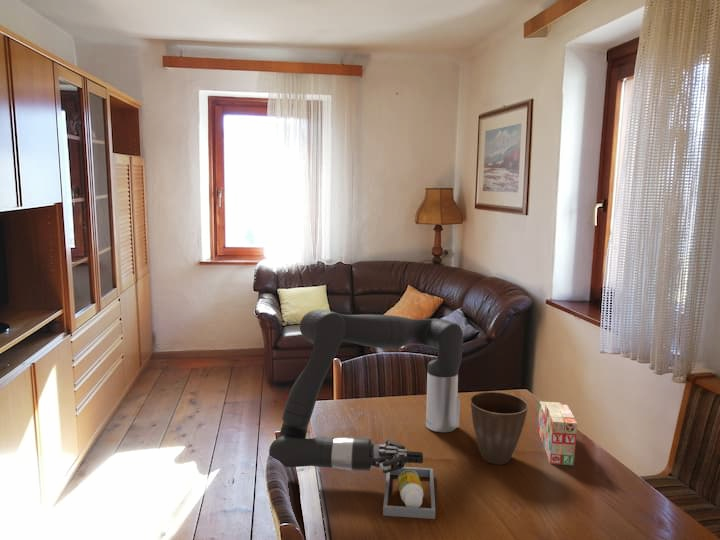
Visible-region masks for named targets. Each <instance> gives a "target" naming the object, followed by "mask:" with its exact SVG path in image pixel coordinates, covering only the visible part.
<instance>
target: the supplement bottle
mask: <svg viewBox="0 0 720 540" xmlns="http://www.w3.org/2000/svg"><path fill="white" fill-rule="evenodd" d="M397 485H398V488H399V489H398V490H399V496H400V499H401V501H402V502H403V503H404V504H405V507H418V508H421V506H422V504H423V499H424V490H423V486H422V484H421V478H420V477H419V476H418V474H417V473H416V472H415V471H413V470H405V471H403V472H401V473H400V475H398V477H397Z"/></svg>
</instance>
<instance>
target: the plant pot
mask: <svg viewBox="0 0 720 540" xmlns="http://www.w3.org/2000/svg"><path fill="white" fill-rule="evenodd" d="M528 406H529V405H528V402H526V401H525V399H523V398H521V397H518V396H516V395H514V394H510V393H505V392H499V391H498V392H497V391H485V392H480V393H476V394H474V395H472V396H471V398H470V408H471V409H470V411H471V418H472V426H473V429H474V434H475V439H476V442H477V447H478V449H479V452H480V455H481V458H482V459H483V460H484V461H486V462H487V463H490V464H493V465H504V464H507V463H509V461H510V460H511V458H512V456H513V454H514V452H515V449H516V448H517V445H518V443H519V441H520V437H521V434H522V431H523V428H524V424H525V422H526V418H527V417H526V416H527V413H528V410H529V408H528Z"/></svg>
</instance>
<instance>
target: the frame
mask: <svg viewBox="0 0 720 540" xmlns="http://www.w3.org/2000/svg"><path fill="white" fill-rule="evenodd" d="M405 470H413V471H415V472H416V473H417V474H418V476H419V478H420V477H421V478H429V489H430V490H429V491H430V492H429V493H430V494H429V495H430V507H419V508H418V507H407V506H403V505H402V506H399V505H388V503H389V493H390V485H391V484H390V483H391V482H390V479H391V476H399V475H400V473H401V472H403V471H405ZM434 481H435V479H434V468H430V467H417V466H416V467H414V466H413V467H412V466H404V468H401V469H398V470H395V471H391V472H388V473H386V477H385V486H384V495H383V507H382V516H386V517H398V518H399V517H401V518H403V517H404V518H414V519H417V518H418V519H426V520H427V519H428V520H431V519H432V520H435V519H436V499H435V495H436V494H435V482H434Z"/></svg>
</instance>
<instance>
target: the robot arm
mask: <svg viewBox="0 0 720 540" xmlns="http://www.w3.org/2000/svg"><path fill="white" fill-rule="evenodd" d="M299 331H300V333H301V335H302V337H303V338H304V339H305V341H307V342H308V343H310V344H313V346H312V350H311V354H310V357H309V360H308V361H307V363H306V366H305V367H304V369H303V370H302V371H301V373H300V375H299V376H298V377H297V379H296V380H295V382H294V383H293V385H292V387H291V389H290V390H289V394H288V397H287V399H286V402H285V405H284V409H283V412H282V417H281V418H282V425H281V429H280V431H279V436H278V437H277V438H275V439H274V440H273V441H272V442H271V444H270V446H269V449H268V455H269V457H270V456H272V457H273V458H275V459H277V460H279V461H280V462H281V463H282V464H283V465H284V466H285V467H284V468H301V467H316V468H317V467H318V468H333V469H339V470H345V471H346V470H347V471H363V472H364V471H365V472H368V471H371V468H372V467H375V468H381V469H382V473H384V474H387V473H388V472H391V471H395V470H398V469H401V468H404V467H405V465H407V464H410V463H411V464H423V462H424V453H423V452H422V451H410V450H408V449H406V446H405V445H402V444H400V443H398V442H395V441H393V440H391V439H385V443H382V444H381V443H377V444H373V441H372V438H365V437H364V438H363V437H362V438H361V437H346V436H345V437H326V436H322V437H321V436H318V437H313V438H307V434H308V433H307V432H308V427H309V423H310V421H311V418H312V415H313V412H314V409H315V406H316V403H317V399H318V395H319V394H320V390H321V387H322V385H323V383H324V381H325V378H326V376H327V374H328V371H329V370H330V367H331V365H332V363H333V362H334V360H335V359H334V358H335V357H336V355H337V353H338V351H339V348H340V346H341V344H342V342H345V343H352V344H356V345H360V346H365V347H370V348H377V349H399V348H402V347H405V346H407V345H409V344H410V345H411V344H412V345H420V346H427V347H428V348H431V349H434V350H437V351H438V352H437V359H436V358H435V359H433V360H430V361H429V362H428V364H427V371H426V372H427V374H426V376H427V377H426V407H425V408H426V410H425V411H426V412H425V426H426V428H427V429H429V430H431V431H432V432H438V433H449V432H453V431H454V430H455V431H456V429H457V428H458V429H459V427H460V411H461V410H460V406H461V405H460V404H461V398H460V396H458V391H459V389H458V388H459V387H458V385H459V383H458V382H459V369H460V366H461V363H462V357H463V348H464V347H463V345H464V334H463V332H464V331H463V329H462V327H461V325H459V324H458V323H455V322H452V321H448V320H446V319H442V318H423V319H421V318H419V319H414V318H413V319H412V318H408V317H404V316H397V315H390V314H389V315H388V314H387V315H386V314H344V313H343V314H341V313H339V312H335V311H331V310H327V309H320V308H319V309H313V310H310V311H309V312H307V313H306V314H304V316H303V317H302V318H301V320H300V323H299Z"/></svg>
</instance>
